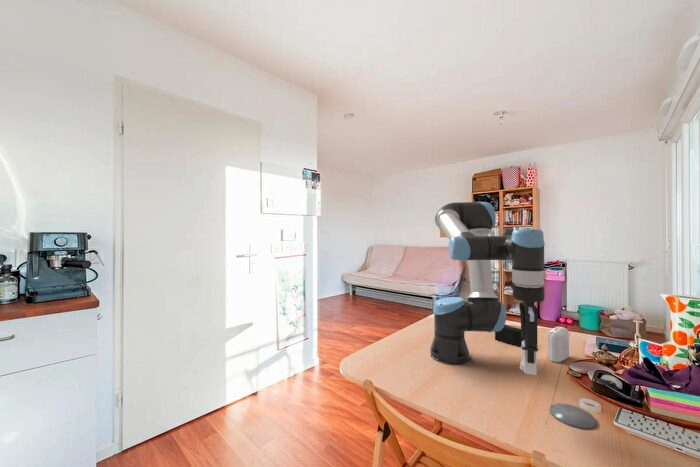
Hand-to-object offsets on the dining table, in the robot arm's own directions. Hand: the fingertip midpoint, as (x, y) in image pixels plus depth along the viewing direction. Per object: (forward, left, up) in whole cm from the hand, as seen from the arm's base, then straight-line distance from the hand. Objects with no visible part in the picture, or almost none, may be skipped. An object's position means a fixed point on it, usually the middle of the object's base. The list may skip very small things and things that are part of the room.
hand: (528, 369), depth 80 cm
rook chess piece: (0, 0, -1) cm, 1 cm away
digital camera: (0, +57, -13) cm, 58 cm away
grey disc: (+11, +4, -13) cm, 17 cm away
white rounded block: (+17, +45, -13) cm, 49 cm away
